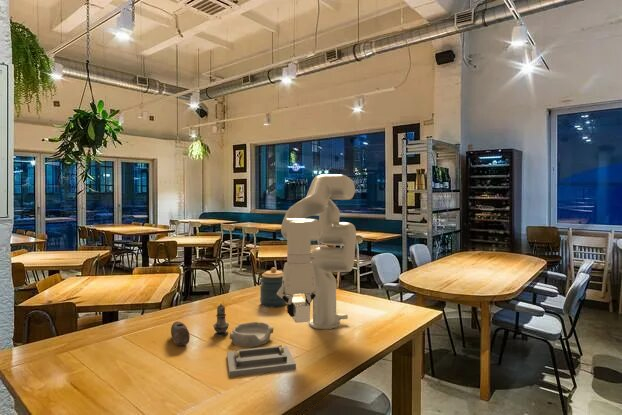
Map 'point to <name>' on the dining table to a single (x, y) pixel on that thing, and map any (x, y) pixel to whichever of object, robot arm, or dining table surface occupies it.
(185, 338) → the perforated stone tool
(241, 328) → the dish
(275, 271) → the canister
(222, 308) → the dark grey chess piece
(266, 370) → the switch frame
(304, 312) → the aluminium bar
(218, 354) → the dining table surface
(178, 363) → the dining table surface
